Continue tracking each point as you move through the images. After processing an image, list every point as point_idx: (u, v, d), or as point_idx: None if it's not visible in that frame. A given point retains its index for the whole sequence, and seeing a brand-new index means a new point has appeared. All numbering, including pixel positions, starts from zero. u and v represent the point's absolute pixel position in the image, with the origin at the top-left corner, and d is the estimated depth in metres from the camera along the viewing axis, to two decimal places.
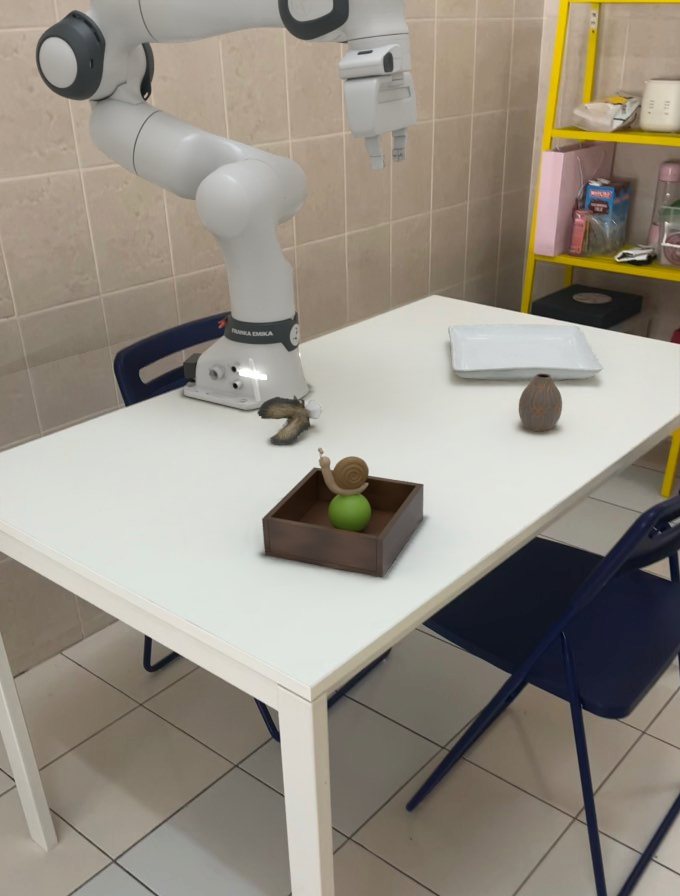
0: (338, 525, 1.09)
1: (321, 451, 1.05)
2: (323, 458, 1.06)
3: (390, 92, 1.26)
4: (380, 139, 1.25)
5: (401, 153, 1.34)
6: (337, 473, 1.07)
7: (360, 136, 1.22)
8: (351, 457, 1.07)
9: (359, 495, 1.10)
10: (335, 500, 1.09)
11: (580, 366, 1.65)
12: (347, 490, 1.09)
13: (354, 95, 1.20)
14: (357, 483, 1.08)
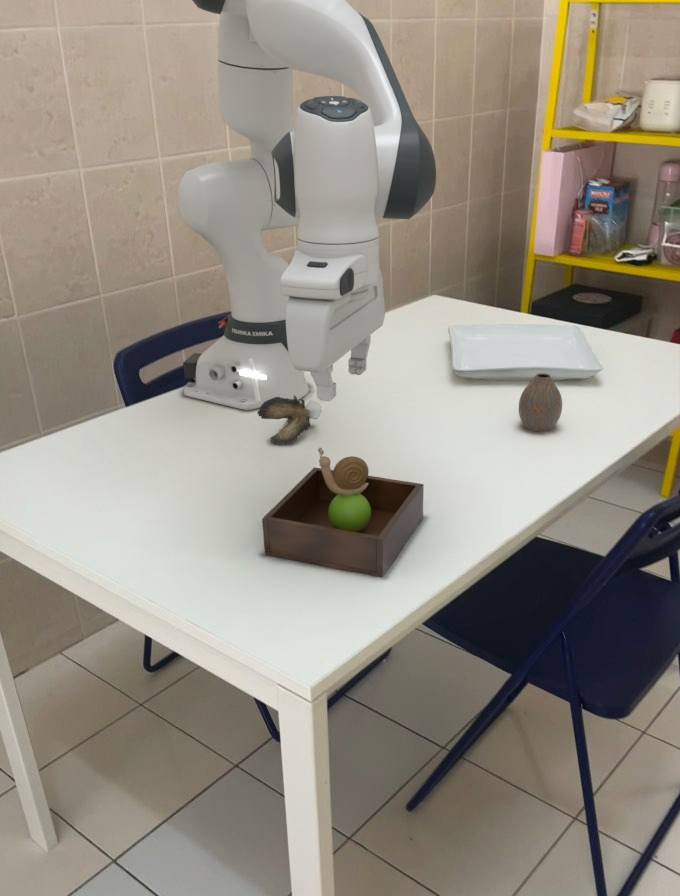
0: (338, 525, 1.09)
1: (321, 451, 1.05)
2: (323, 458, 1.06)
3: (349, 304, 0.96)
4: (331, 368, 0.95)
5: (360, 365, 1.05)
6: (337, 473, 1.07)
7: (303, 370, 0.92)
8: (351, 457, 1.07)
9: (359, 495, 1.10)
10: (335, 500, 1.09)
11: (580, 366, 1.65)
12: (347, 490, 1.09)
13: (298, 321, 0.90)
14: (357, 483, 1.08)
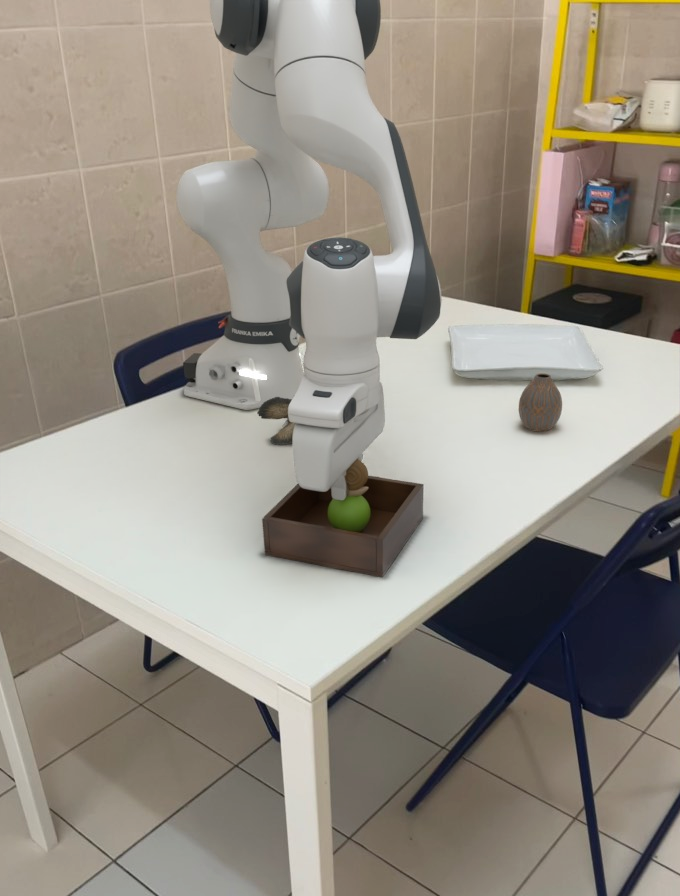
0: (331, 522, 1.10)
1: None
2: None
3: (352, 423, 1.03)
4: (344, 472, 1.05)
5: None
6: None
7: (309, 489, 0.99)
8: None
9: (358, 497, 1.09)
10: None
11: (580, 366, 1.65)
12: None
13: (305, 447, 0.97)
14: (353, 484, 1.08)
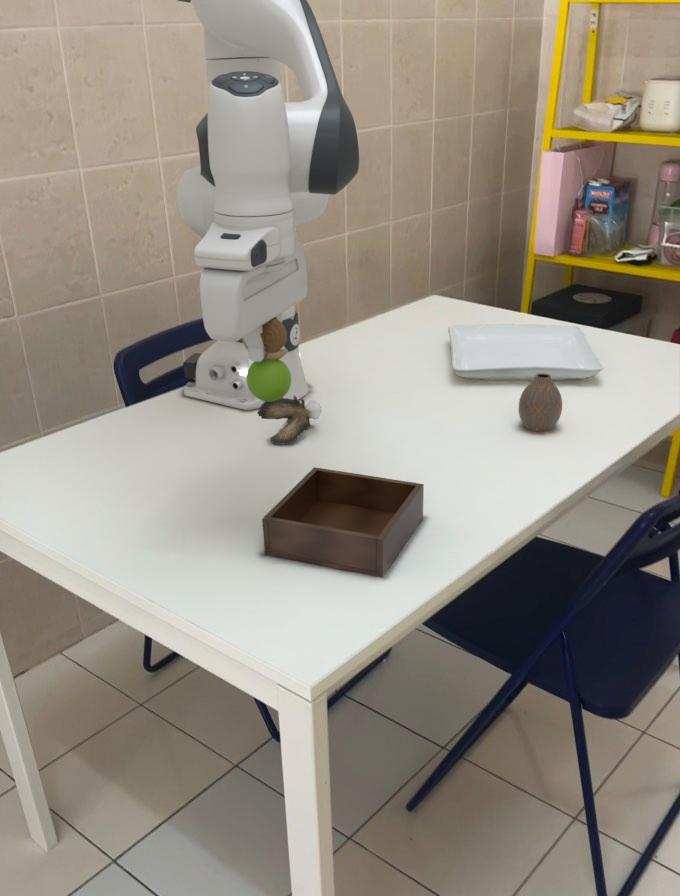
0: (249, 387, 1.06)
1: None
2: None
3: (266, 276, 0.99)
4: (260, 330, 1.01)
5: None
6: None
7: (218, 339, 0.95)
8: None
9: (277, 361, 1.05)
10: (253, 362, 1.06)
11: (580, 366, 1.65)
12: None
13: (212, 291, 0.93)
14: (271, 346, 1.04)
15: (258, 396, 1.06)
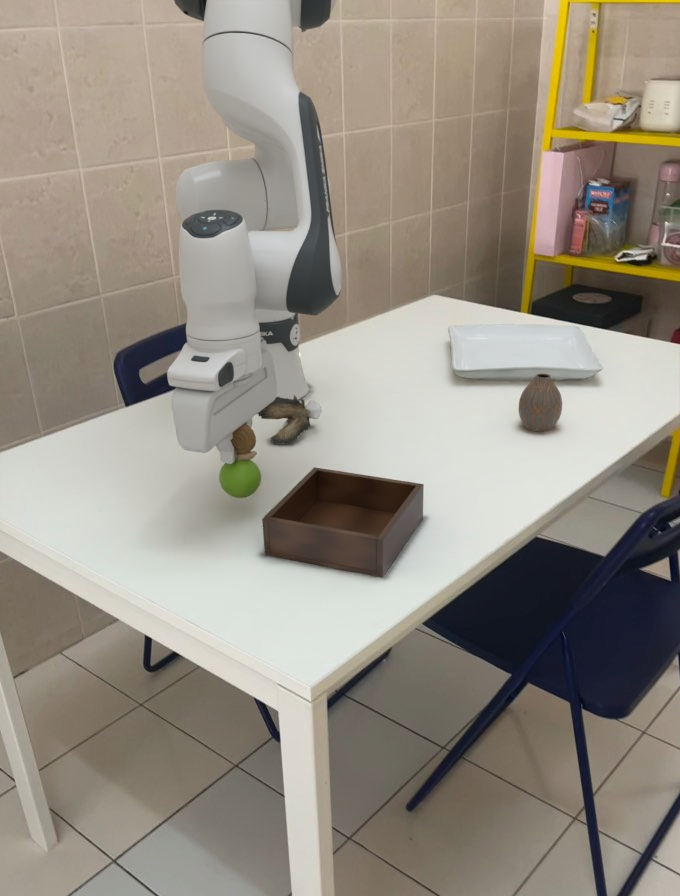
0: (222, 486, 1.14)
1: None
2: None
3: (235, 389, 1.08)
4: (230, 436, 1.10)
5: None
6: None
7: (190, 450, 1.04)
8: None
9: (247, 462, 1.14)
10: None
11: (580, 366, 1.65)
12: None
13: (183, 409, 1.02)
14: (241, 448, 1.13)
15: (230, 494, 1.15)
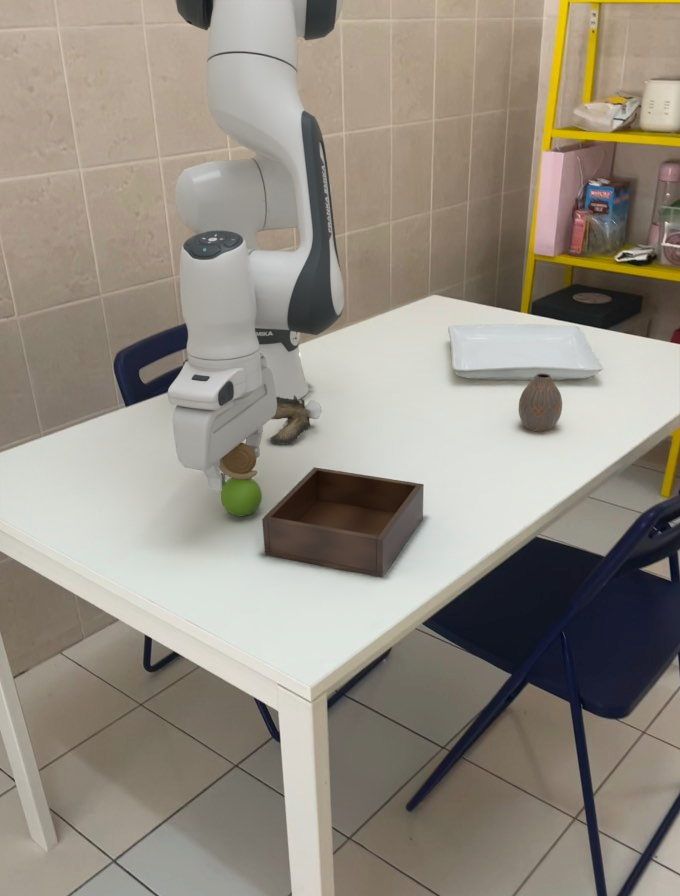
0: (223, 504, 1.16)
1: None
2: None
3: (235, 406, 1.09)
4: (218, 463, 1.08)
5: None
6: None
7: None
8: None
9: (248, 481, 1.15)
10: (226, 481, 1.16)
11: (580, 366, 1.65)
12: (234, 474, 1.15)
13: (184, 428, 1.03)
14: (242, 468, 1.14)
15: (231, 512, 1.16)
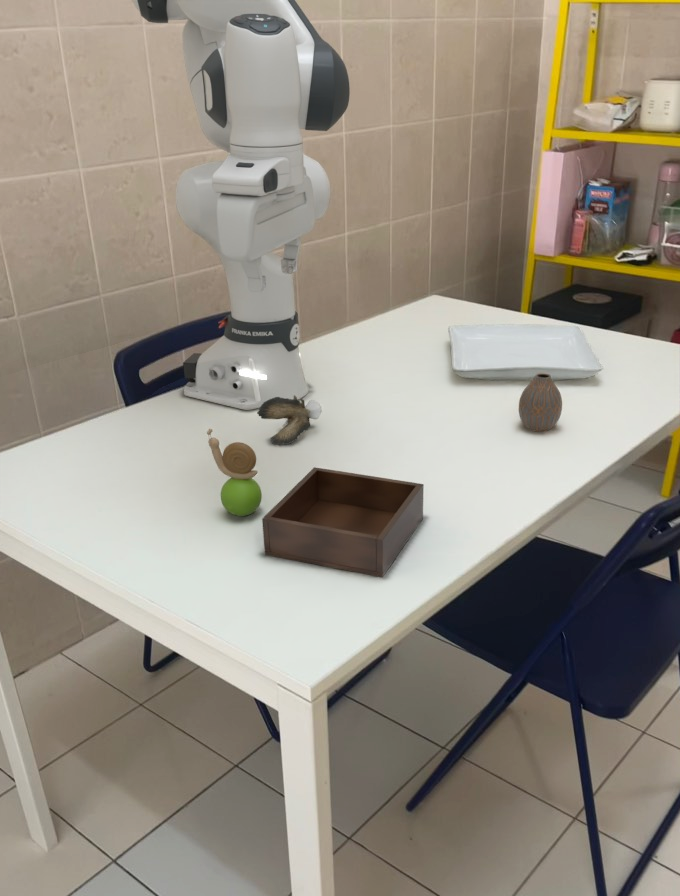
0: (223, 504, 1.16)
1: (207, 432, 1.12)
2: (211, 439, 1.13)
3: (277, 205, 1.09)
4: (259, 261, 1.08)
5: (291, 265, 1.17)
6: (224, 455, 1.14)
7: (233, 260, 1.05)
8: (238, 443, 1.13)
9: (248, 481, 1.15)
10: (226, 481, 1.16)
11: (580, 366, 1.65)
12: (234, 474, 1.15)
13: (228, 215, 1.02)
14: (242, 468, 1.14)
15: (231, 512, 1.16)
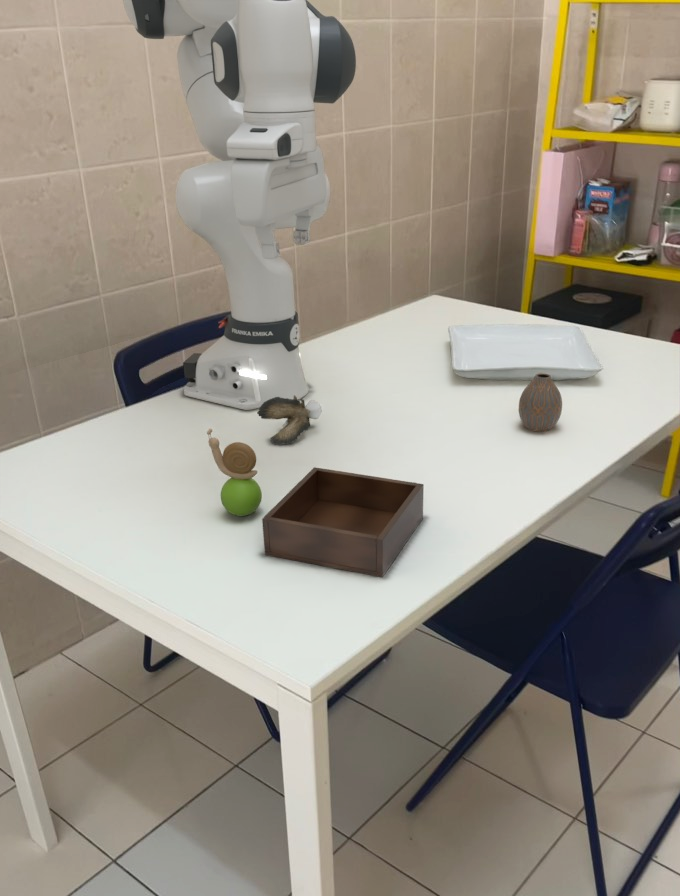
0: (223, 504, 1.16)
1: (208, 432, 1.12)
2: (211, 439, 1.13)
3: (290, 172, 1.10)
4: (273, 227, 1.09)
5: (303, 236, 1.19)
6: (224, 455, 1.14)
7: (247, 225, 1.06)
8: (238, 443, 1.13)
9: (248, 481, 1.15)
10: (226, 481, 1.16)
11: (580, 366, 1.65)
12: (234, 474, 1.15)
13: (242, 179, 1.04)
14: (242, 468, 1.14)
15: (231, 512, 1.16)
